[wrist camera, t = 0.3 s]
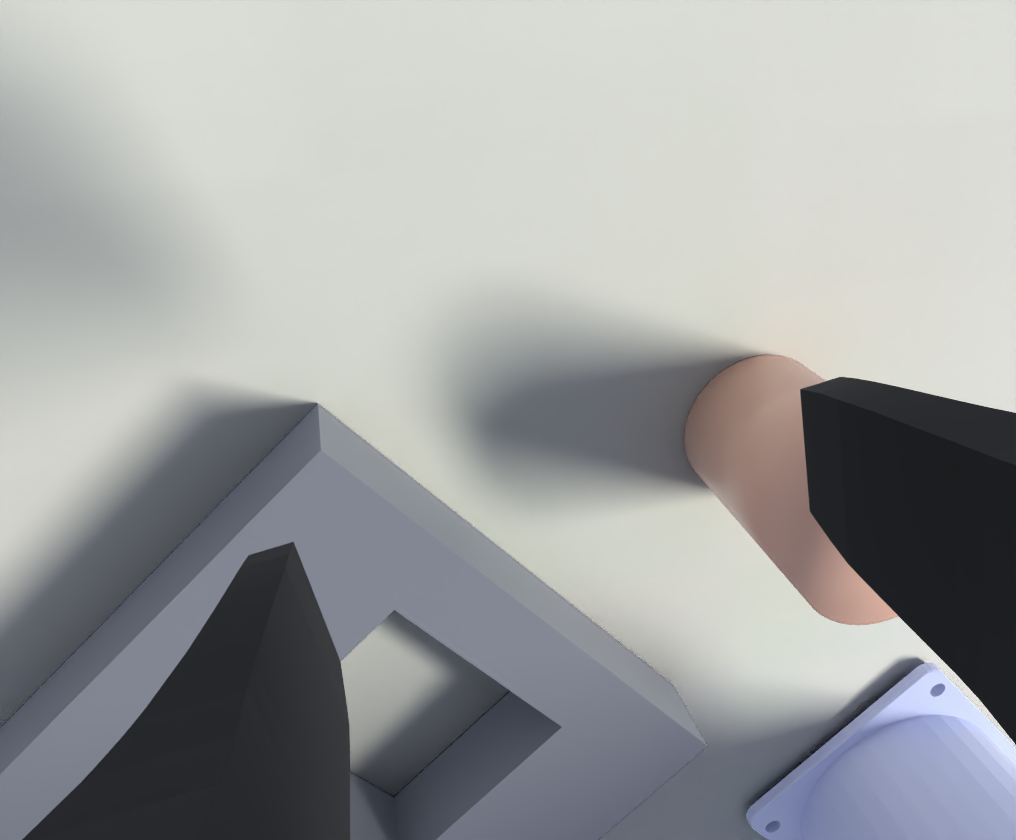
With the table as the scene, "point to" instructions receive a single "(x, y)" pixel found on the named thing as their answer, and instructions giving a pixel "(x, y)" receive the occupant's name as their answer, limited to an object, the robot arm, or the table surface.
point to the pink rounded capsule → (774, 480)
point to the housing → (351, 618)
